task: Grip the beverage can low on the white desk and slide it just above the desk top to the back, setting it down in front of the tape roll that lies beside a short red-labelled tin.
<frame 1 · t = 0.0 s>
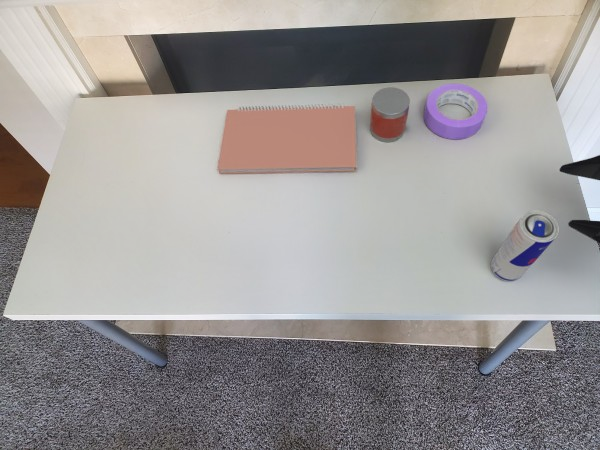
hand: (564, 194, 62), 15 cm above the table, tool horizontal, fingers open, 9 cm apart
food tin: (387, 129, 91), on the table
notebook: (289, 140, 92), on the table
tape roll: (452, 118, 91), on the table
beverage can: (505, 269, 74), on the table
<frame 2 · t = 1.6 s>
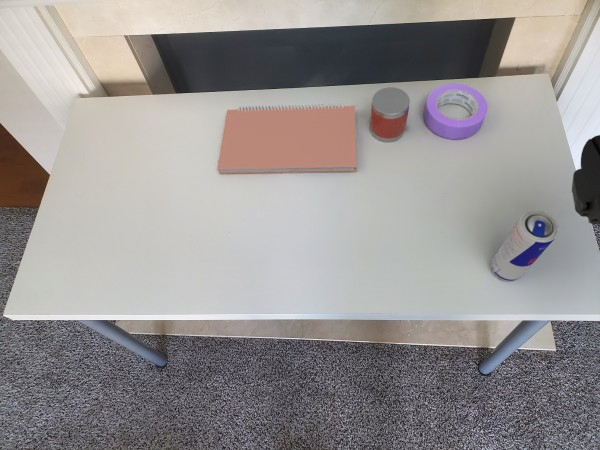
nothing on the table moved.
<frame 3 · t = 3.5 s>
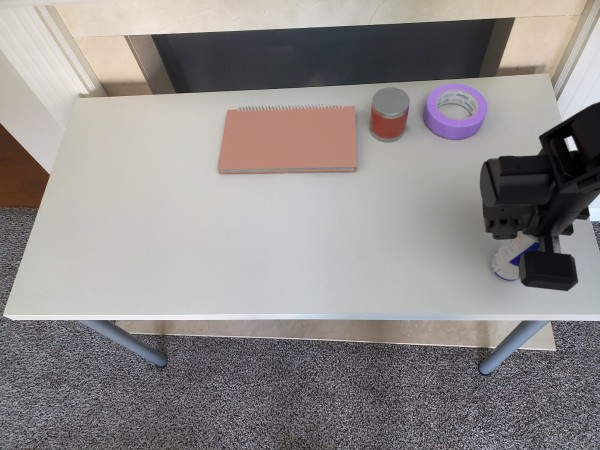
hand: (519, 249, 68), 7 cm above the table, tool pointing down
beverage can: (505, 269, 74), on the table, touching gripper
everything else where it was.
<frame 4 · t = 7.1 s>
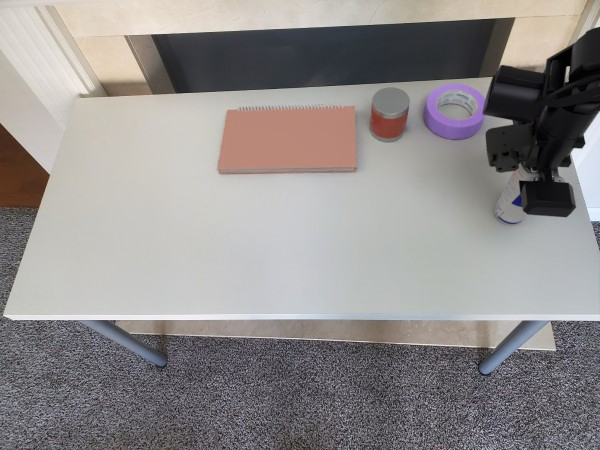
hand: (522, 189, 72), 8 cm above the table, tool pointing down, fingers closed on beverage can, 5 cm apart
beverage can: (508, 215, 79), on the table, touching gripper
everything else where it was.
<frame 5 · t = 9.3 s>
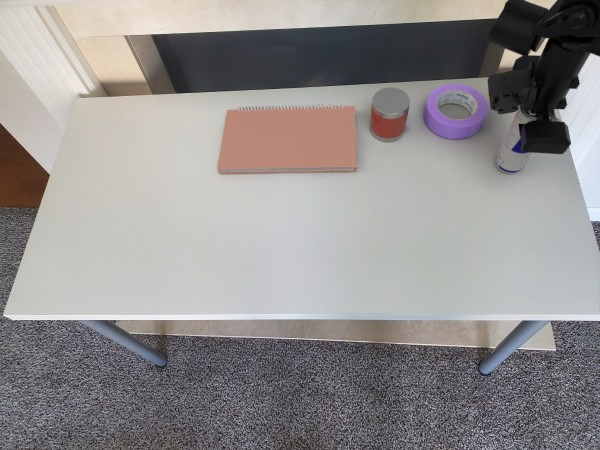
hand: (521, 137, 77), 8 cm above the table, tool pointing down, fingers closed on beverage can, 5 cm apart
beverage can: (508, 165, 84), on the table, touching gripper
everything else where it was.
when the fingers open (8 cm above the table, at t = 10.9 s): beverage can stays where it is, on the table.
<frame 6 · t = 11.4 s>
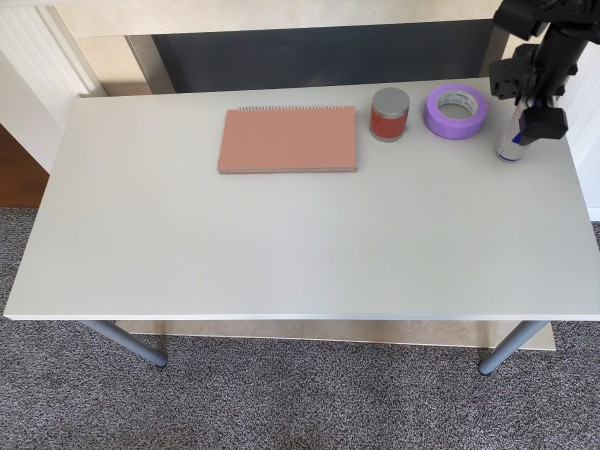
hand: (519, 124, 79), 8 cm above the table, tool pointing down, fingers open, 9 cm apart
beverage can: (508, 153, 85), on the table, touching gripper
everything else where it was.
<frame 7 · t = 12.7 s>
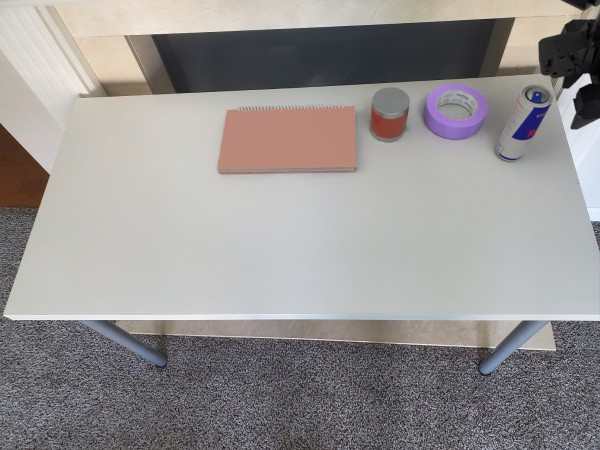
hand: (569, 107, 73), 13 cm above the table, tool pointing down, fingers open, 9 cm apart
beverage can: (507, 154, 85), on the table
everything else where it was.
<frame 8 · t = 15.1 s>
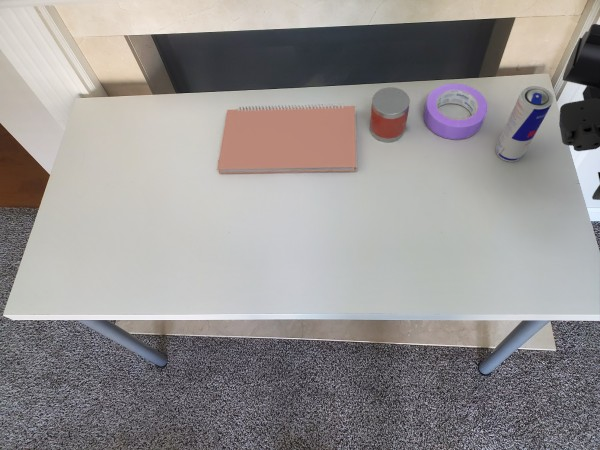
hand: (590, 173, 67), 13 cm above the table, tool pointing down, fingers open, 9 cm apart
nothing on the table moved.
at the end: beverage can inside the target area on the table beside the tape roll (0.4 cm from its centre), on the table; beverage can tilted 1°; tape roll moved 0.2 cm from its start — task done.
